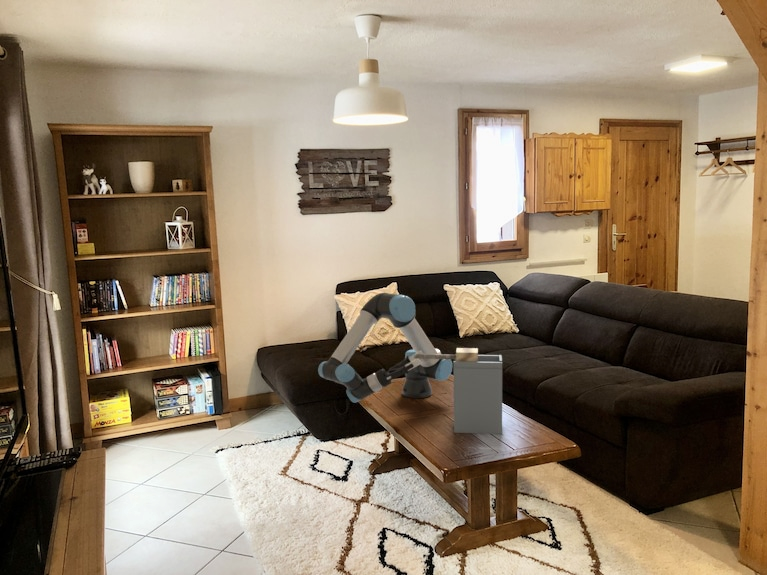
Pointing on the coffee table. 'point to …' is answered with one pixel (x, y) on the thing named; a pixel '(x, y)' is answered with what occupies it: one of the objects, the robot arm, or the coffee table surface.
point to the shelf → (478, 395)
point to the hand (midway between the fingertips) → (421, 356)
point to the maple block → (461, 355)
